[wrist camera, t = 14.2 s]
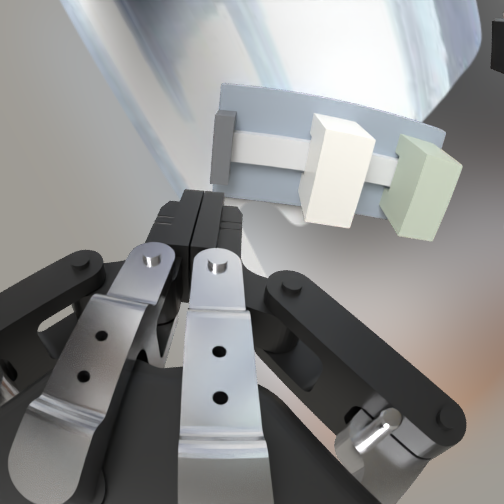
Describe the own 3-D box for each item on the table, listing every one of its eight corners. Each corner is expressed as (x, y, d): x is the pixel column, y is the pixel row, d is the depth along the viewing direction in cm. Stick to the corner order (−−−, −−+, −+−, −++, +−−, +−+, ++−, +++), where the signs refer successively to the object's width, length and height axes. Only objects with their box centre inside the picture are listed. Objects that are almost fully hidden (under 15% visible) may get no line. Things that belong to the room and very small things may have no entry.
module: (298, 190, 39) (304, 221, 33) (313, 113, 33) (325, 128, 27) (336, 196, 39) (349, 228, 33) (355, 121, 33) (375, 140, 27)
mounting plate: (213, 190, 41) (202, 226, 33) (223, 83, 32) (210, 93, 25) (410, 218, 42) (435, 256, 35) (440, 129, 34) (477, 152, 26)
